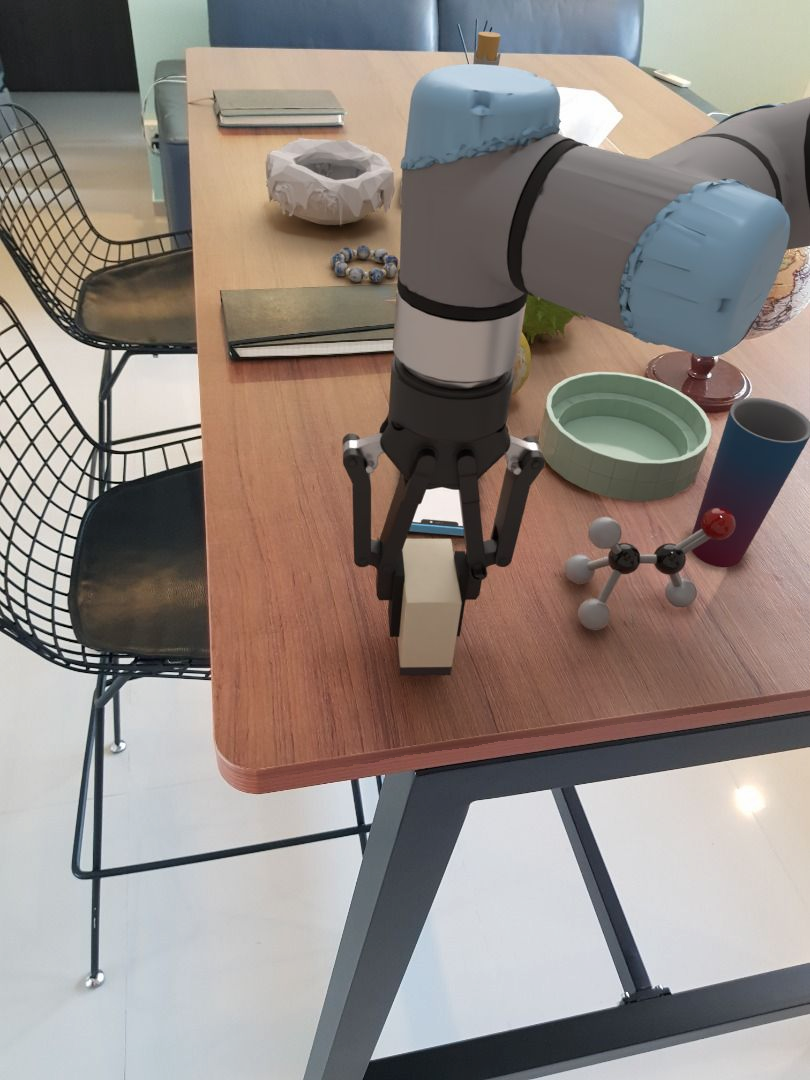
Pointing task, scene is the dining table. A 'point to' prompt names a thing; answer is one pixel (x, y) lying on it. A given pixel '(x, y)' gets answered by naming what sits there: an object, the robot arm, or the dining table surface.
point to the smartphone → (439, 513)
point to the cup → (750, 472)
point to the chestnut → (545, 317)
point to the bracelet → (363, 253)
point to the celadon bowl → (623, 435)
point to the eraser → (428, 608)
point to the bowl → (329, 180)
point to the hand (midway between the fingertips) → (423, 623)
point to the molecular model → (628, 559)
